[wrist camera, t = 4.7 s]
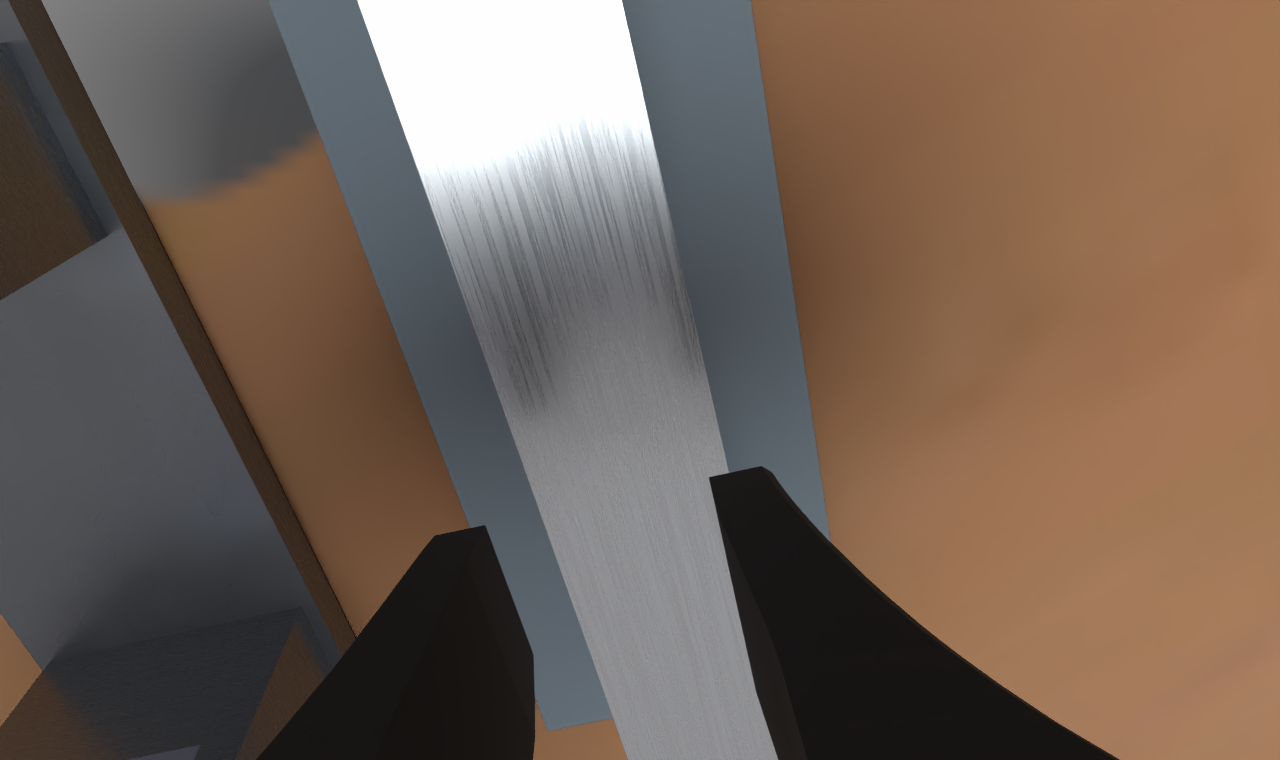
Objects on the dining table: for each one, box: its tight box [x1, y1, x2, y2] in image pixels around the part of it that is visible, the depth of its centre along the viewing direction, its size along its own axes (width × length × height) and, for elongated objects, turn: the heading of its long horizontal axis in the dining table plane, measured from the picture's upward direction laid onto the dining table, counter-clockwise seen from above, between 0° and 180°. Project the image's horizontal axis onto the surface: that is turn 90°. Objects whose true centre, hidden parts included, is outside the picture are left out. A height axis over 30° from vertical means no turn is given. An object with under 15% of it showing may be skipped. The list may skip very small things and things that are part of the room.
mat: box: [268, 0, 831, 731], centre depth 16 cm, size 18×7×1 cm, turn 12°
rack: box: [0, 0, 356, 760], centre depth 14 cm, size 16×6×6 cm, turn 12°
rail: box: [357, 0, 778, 760], centre depth 14 cm, size 16×3×3 cm
